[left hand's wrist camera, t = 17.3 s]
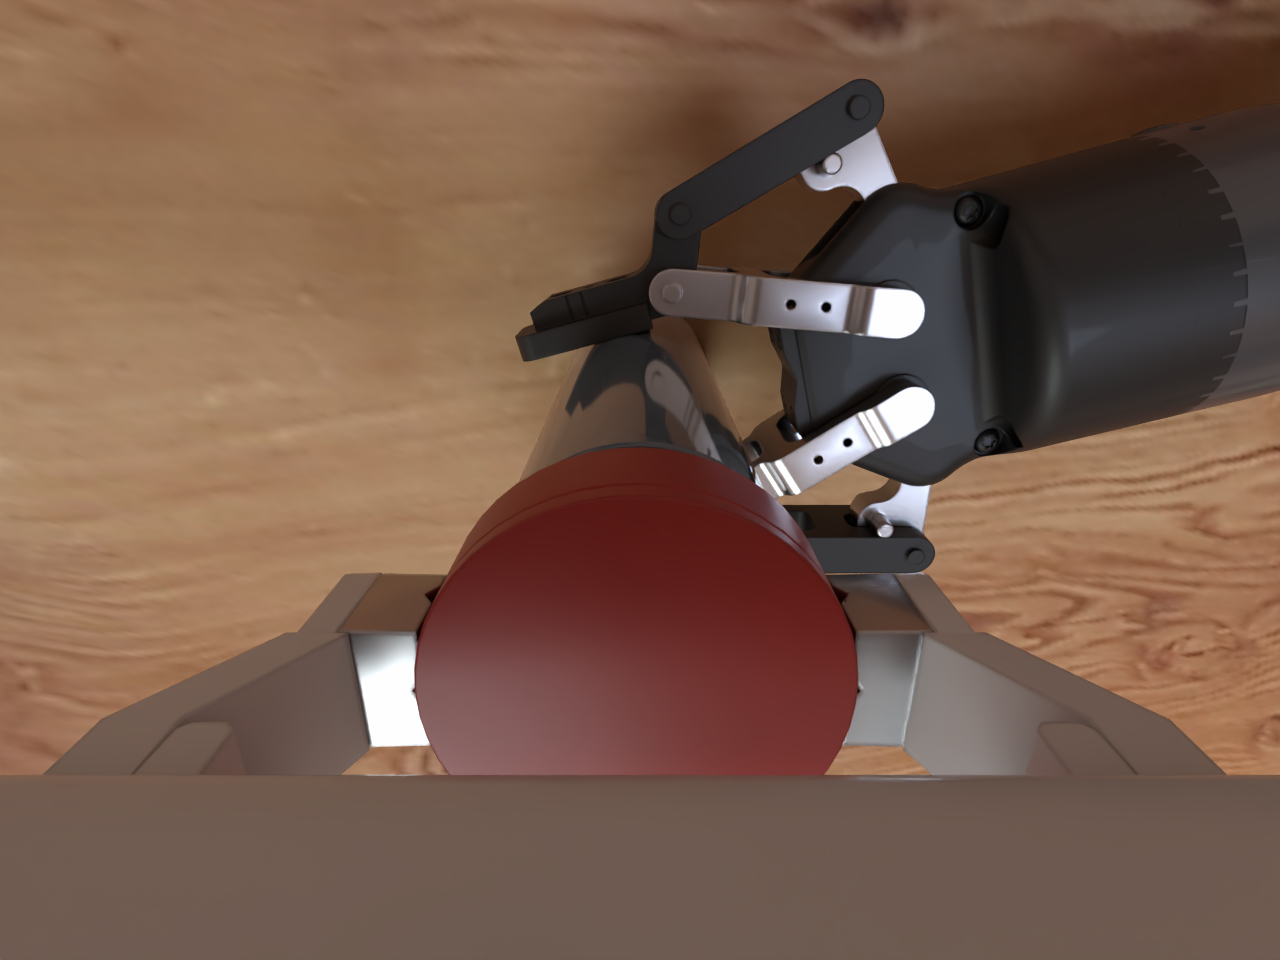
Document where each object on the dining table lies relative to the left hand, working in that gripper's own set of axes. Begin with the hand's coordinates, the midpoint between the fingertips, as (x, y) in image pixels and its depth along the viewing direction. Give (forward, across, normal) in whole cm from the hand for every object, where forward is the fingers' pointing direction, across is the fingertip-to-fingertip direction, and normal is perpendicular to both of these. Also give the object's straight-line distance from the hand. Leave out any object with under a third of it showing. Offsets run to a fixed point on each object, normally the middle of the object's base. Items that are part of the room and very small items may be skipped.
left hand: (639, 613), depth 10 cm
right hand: (+10, -3, 0) cm, 11 cm away
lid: (-2, 0, 0) cm, 2 cm away
